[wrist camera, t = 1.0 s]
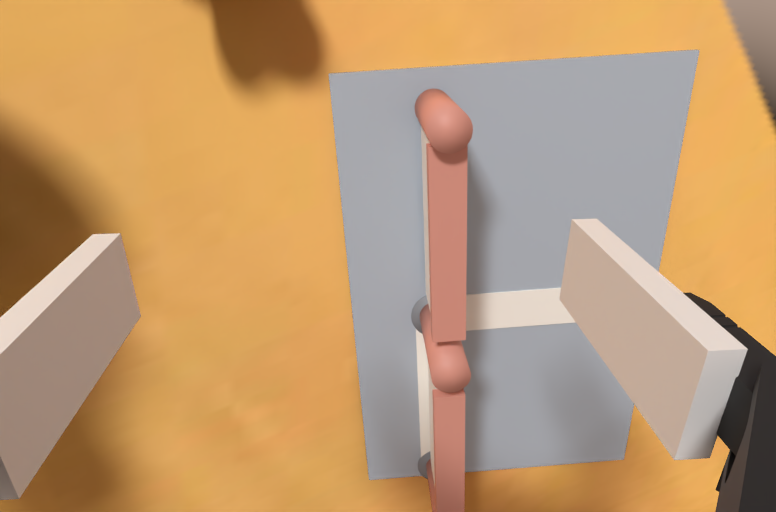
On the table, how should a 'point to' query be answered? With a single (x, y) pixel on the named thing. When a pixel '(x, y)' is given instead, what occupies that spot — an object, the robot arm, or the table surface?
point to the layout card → (504, 245)
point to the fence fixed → (446, 419)
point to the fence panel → (444, 210)
